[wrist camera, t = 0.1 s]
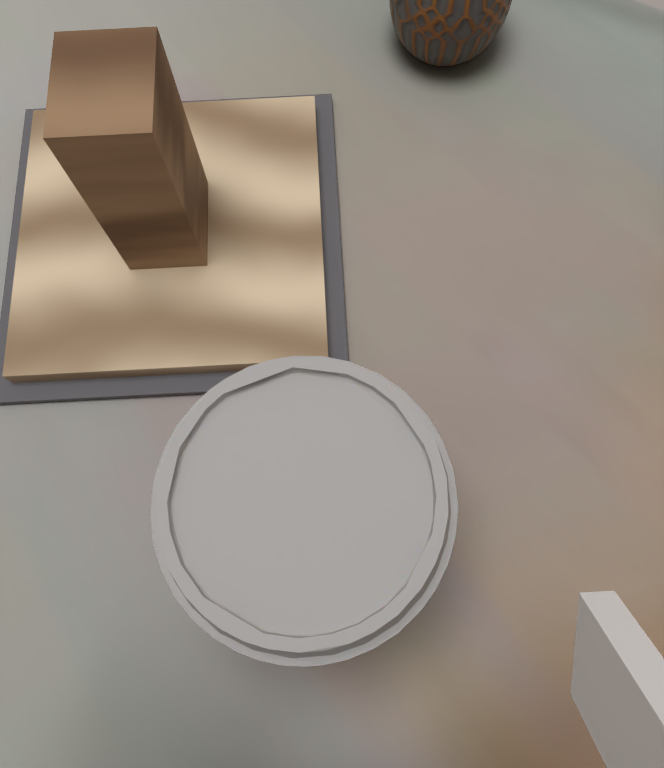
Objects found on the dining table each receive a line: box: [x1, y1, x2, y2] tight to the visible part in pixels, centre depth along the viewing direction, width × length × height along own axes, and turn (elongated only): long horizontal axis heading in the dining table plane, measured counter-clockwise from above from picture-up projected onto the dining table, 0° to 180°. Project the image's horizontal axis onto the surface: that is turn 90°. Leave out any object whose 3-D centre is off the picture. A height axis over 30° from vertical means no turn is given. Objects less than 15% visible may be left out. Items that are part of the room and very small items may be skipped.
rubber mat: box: [0, 94, 348, 405], centre depth 34 cm, size 18×18×1 cm
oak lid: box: [2, 27, 328, 383], centre depth 29 cm, size 16×16×11 cm
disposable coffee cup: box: [150, 356, 458, 667], centre depth 24 cm, size 10×10×12 cm
